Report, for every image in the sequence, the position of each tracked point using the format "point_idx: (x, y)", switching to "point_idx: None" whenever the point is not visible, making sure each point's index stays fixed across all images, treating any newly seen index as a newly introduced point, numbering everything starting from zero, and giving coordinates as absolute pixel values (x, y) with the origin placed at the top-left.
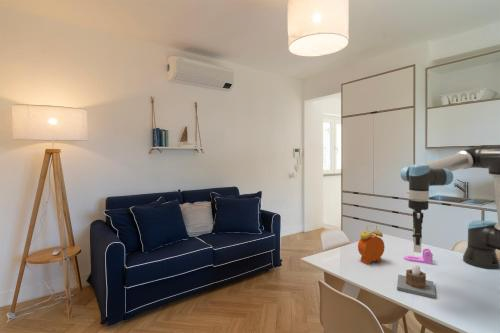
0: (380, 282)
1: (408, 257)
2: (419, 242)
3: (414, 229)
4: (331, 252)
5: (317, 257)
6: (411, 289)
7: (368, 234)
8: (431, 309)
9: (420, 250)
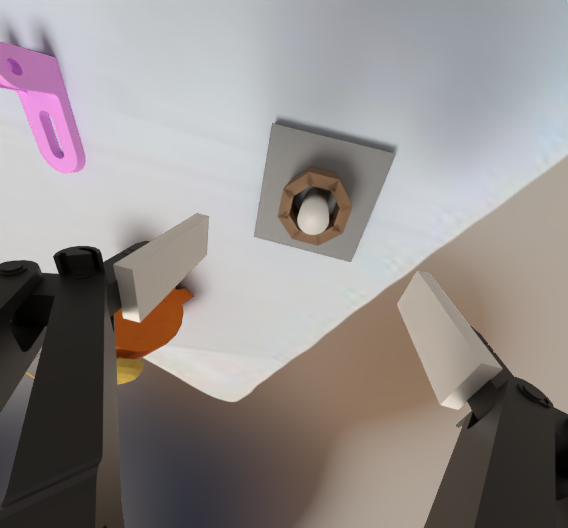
0: (309, 287)
1: (56, 155)
2: (489, 349)
3: (143, 312)
4: (159, 359)
5: (209, 386)
6: (362, 225)
7: (121, 372)
8: (467, 190)
9: (433, 286)
